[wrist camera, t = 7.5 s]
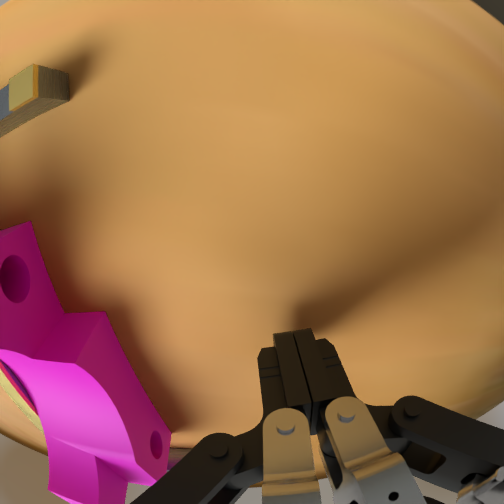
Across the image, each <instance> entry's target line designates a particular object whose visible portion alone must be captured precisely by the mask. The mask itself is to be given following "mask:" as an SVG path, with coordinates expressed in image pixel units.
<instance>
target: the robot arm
mask: <svg viewBox="0 0 504 504" xmlns="http://www.w3.org/2000/svg"><path fill="white" fill-rule="evenodd" d="M273 341H274V347H268V348H262V349H261V351H260V353H259V356H258V358H257V359H258V368H259V377H260V385H261V394H262V403H263V417H262V420H261V421H260V423H259V424H258V425H257V426H256V427H255V428H253V429H252V430H250V431H248V432H245V433H243V434H240V435H237V436H235V437H234V436H232V435H230V434H226V433H214V434H210V435H208V436H206V437H204V438H203V439H202V440H201V441H200V442H199V443H198V444H197V445H196V446H195V447H194V448H193V449H192V450H191V451H190V452H188V453H187V454H186V455H185V456H184V457H183V458H182V459H181V460H180V461H179V462H178V463H177V464H176V465H175V466H174V467H172V468H171V469H170V470H169V471H168V472H167V473H166V474H165V475H164V476H162V477H161V478H160V479H159V480H158V481H157V482H156V483H154V484H153V485H152V486H151V487H150V488H148V489H147V490H146V491H145V492H144V493H142V494H141V495H140V496H139V497H138V498H137V499H135V500H134V501H133V502H131V503H130V504H234V503H235V502H236V501H237V500H238V499H239V498H240V496H241V495H242V494H243V493H244V492H245V491H246V490H247V488H248V487H249V486H250V485H252V484H255V483H258V482H260V481H263V484H262V504H321V495H320V488H319V483H318V479H317V477H316V475H315V468H314V460H313V453H312V445H311V438H310V435H315V434H317V436H318V439H319V443H320V444H319V453H320V456H321V459H322V462H323V465H324V468H325V471H326V474H327V476H328V479H329V482H330V485H331V488H332V491H333V501H334V504H444V503H442V502H440V501H437V500H435V499H433V498H430V497H426V496H423V495H422V493H421V491H420V489H419V487H418V485H417V483H416V481H415V479H414V477H413V476H415V477H418V478H420V479H422V480H425V481H427V482H430V483H432V484H434V485H437V486H439V487H442V488H445V489H447V490H450V491H453V492H456V493H458V498H457V504H504V430H503V429H500V428H497V427H494V426H491V425H489V424H486V423H483V422H480V421H478V420H475V419H472V418H470V417H467V416H464V415H462V414H459V413H457V412H454V411H452V410H449V409H447V408H444V407H442V406H439V405H437V404H434V403H432V402H430V401H427V400H425V399H423V398H420V397H417V396H405V397H403V398H401V399H399V400H398V401H397V402H396V403H395V404H394V406H372V405H368V404H365V403H363V402H362V401H361V400H359V399H358V398H357V397H356V396H355V394H354V392H353V389H352V387H351V385H350V382H349V380H348V377H347V375H346V373H345V370H344V368H343V366H342V364H341V361H340V359H339V357H338V354H337V352H336V349H335V347H334V345H332V344H331V343H330V342H329V341H328V340H327V339H325V338H324V339H318V340H315V337H314V335H313V332H312V330H311V328H307V329H301V330H295V331H292V332H291V331H289V332H282V333H275V334H273Z"/></svg>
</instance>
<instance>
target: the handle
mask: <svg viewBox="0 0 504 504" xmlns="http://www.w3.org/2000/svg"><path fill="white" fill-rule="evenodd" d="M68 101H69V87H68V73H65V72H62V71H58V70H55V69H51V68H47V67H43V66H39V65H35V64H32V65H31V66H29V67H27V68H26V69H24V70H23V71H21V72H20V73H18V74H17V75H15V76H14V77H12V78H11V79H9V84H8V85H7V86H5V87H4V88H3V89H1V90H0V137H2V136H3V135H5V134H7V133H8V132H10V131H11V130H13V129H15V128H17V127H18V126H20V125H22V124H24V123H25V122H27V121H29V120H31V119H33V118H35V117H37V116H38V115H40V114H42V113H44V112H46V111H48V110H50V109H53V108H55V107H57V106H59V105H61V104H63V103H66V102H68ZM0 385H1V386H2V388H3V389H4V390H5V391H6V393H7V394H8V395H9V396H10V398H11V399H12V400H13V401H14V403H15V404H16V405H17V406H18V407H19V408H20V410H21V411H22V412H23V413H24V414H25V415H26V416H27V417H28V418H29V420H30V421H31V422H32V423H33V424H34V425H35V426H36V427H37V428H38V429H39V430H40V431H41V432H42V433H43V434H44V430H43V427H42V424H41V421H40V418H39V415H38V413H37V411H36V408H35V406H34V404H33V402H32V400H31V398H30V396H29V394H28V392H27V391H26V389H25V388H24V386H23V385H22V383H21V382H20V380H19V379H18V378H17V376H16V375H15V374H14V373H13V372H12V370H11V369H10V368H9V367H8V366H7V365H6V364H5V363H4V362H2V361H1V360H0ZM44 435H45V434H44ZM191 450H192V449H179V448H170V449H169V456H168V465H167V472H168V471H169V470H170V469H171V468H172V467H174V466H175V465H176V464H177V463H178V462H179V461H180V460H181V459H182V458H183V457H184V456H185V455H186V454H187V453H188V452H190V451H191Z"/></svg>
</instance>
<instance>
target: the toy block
mask: <svg viewBox="0 0 504 504" xmlns="http://www.w3.org/2000/svg"><path fill="white" fill-rule="evenodd" d="M0 360H1V361H2V362H4V363H5V364H6V365H7V366H8V367H9V368H10V369H11V370H12V372H13V373H14V374H15V375H16V376H17V378H18V379H19V380H20V382H21V383H22V385H23V386H24V388H25V389H26V391H27V392H28V394H29V396H30V398H31V400H32V402H33V404H34V406H35V408H36V411H37V413H38V415H39V418H40V421H41V424H42V427H43V430H44V434H45V438H46V443H47V449H48V456H49V484H48V490H49V491H51V492H52V493H54V494H55V495H57V496H59V497H60V498H62V499H64V500H66V501H67V502H69V503H71V504H125V497H126V490H127V486H128V482H129V483H135V484H141V485H148V486H152V485H153V484H154V483H156V482H157V481H158V480H159V479H160V478H161V477H162V476H164V475H165V474H166V473H167V465H168V456H169V449H170V441H171V434H172V433H171V432H170V430H169V429H168V427H167V426H166V424H165V423H164V421H163V420H162V418H161V417H160V415H159V414H158V412H157V410H156V409H155V407H154V406H153V404H152V402H151V401H150V399H149V397H148V396H147V394H146V392H145V391H144V389H143V387H142V385H141V384H140V382H139V380H138V378H137V376H136V375H135V373H134V371H133V369H132V367H131V365H130V363H129V361H128V359H127V358H126V356H125V354H124V352H123V350H122V348H121V345H120V343H119V341H118V339H117V337H116V335H115V333H114V331H113V328H112V326H111V324H110V322H109V319H108V317H107V315H106V312H105V311H101V312H82V313H64V311H63V309H62V306H61V304H60V302H59V300H58V297H57V295H56V293H55V290H54V288H53V285H52V283H51V280H50V278H49V275H48V272H47V270H46V267H45V264H44V261H43V259H42V256H41V253H40V250H39V247H38V244H37V240H36V237H35V234H34V230H33V227H32V223H31V221H28V222H25V223H22V224H19V225H16V226H13V227H10V228H7V229H4V230H1V231H0Z"/></svg>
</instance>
